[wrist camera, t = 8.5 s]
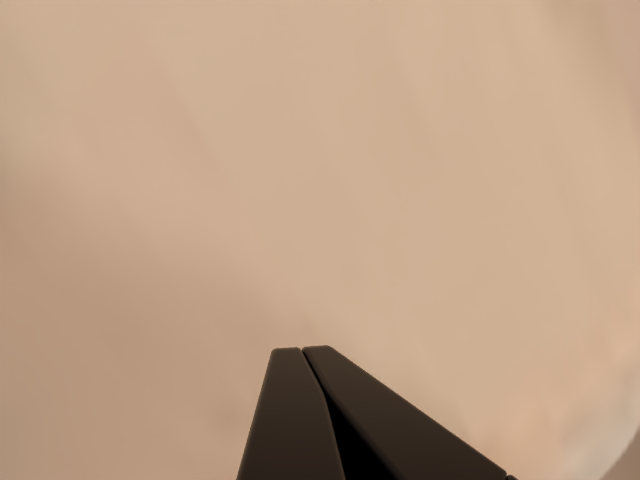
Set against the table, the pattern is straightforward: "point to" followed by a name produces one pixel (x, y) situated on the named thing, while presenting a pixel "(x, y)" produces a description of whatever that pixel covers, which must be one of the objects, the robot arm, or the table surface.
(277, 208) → the table surface
